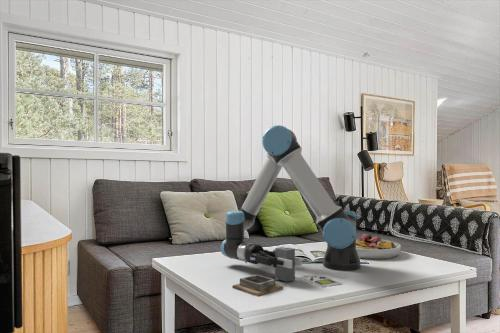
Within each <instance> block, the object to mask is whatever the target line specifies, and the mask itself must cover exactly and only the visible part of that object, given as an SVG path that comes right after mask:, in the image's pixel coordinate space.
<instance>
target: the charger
mask: <svg viewBox="0 0 500 333" xmlns="http://www.w3.org/2000/svg"><path fill="white" fill-rule="evenodd" d="M274 250H275V258H276V259H277V258H278V257H279V258H283V259H288V260H292V268H291V269H290V268H286V267H282V266H278V265H277V264H276V267H274V270H275V271H274V272H275V276H274V277H275V278H274V279H275V280H276V279H277V280H279V281H283V282H290V281H293V280H294V281H295V280H296V265H295V257H296V248H293V247H288V246H279V247H276V248H275V249H274Z"/></svg>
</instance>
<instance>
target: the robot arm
mask: <svg viewBox="0 0 500 333" xmlns="http://www.w3.org/2000/svg"><path fill="white" fill-rule="evenodd" d="M261 141H262V142H261V143H262V147H263V149H264V150H265V152H266V157H267V158H266V159H265V161H264V164H263V165H262V167H261V169H260V171H259V173H258V175H257V177H256V179H255V181H254V183H253V185H252V187H251V188H250V190H249V192H248V194H247V197H246V198H245V200H244V202H243V203H242V206H241V208H240V209H239V210H231V211H230V210H229V211H227V212H226V215H225V239H224V240H223V241H222V242H221V245H220V252H221V254H222V255H223V257H226V258H229V259H233V260H239V261H242V262H244V263H245V264H248V263H249V264H253V265H258V264H261V265H265V266H269V267H270V266H272V265H273V268H275V267H276V264H277V265H278V266H282V267H286V268H290V269H291V268H292V260H288V259H283V258H279V257H278V258H277V259H276V258H275V249H273V250H267V249H264V248H263V246H262V245H261V244H257V243H253V242H247V241H245V231H247V230H248V229H251V228H252V227H253V225H254V224H255V219H256V217H257V215H258V213H259V212H260V209H261V208H262V206H263V204H264V202H265V199H266V198H267V197H268V194H269V192H270V191H271V189H272V188H273V185H274V183H275V182H276V180H277V178H278V175H279V174H280V172H281V170H282V169H284V170H285V171H286V173H287V174H288V176H289V178H290V179H291V181H292V182H293V184H294V185H295V187H296V188H297V190H298V191H299V193H300V194H301V196H302V197H303V198H304V199H303V200H305V202H306V203H307V205H308V207H309V208H310V209H311V211H312V212H313V214H314V215H315V217H316V221H315V224H316V226H317V227H318V228H319V230H320V231H321V233H322V237H323V240H324V241H325V243H326V244H327V245H326V246H327V247H326V250H325V253H324V256H323V259H322V265H323V267H325V268H327V269H330V270H334V271H335V270H337V271H354V270H355V271H356V270H358V269H361V260H360V259H361V258H359V256H358V253H357V250H356V238H357V218H358V217H357V213H356V212H355V211H353V210H344V209H343V207H342V206H340V205H336V204H335V202H334V201H333V200H332V197H331V196H330V194H328V192H327V190H326V189H325V188H324V186H323V184H322V183H321V182H320V180H319V178H318V177H317V176H316V174H315V173H314V172H313V170H312V169H311V167H310V166H309V163H308V162H307V161H306V159H305V158H304V156H303V155H302V150H303V149H302V146H301V145H300V144H299V142H298V140H297V136H296V134H295V133H294V132H293V131H292V130H291V129H289V128H287V127H286V126H284V125H273V126H270V127H268V129H267V130H265V132H264V133H263V135H262V140H261ZM295 266H298V267H302V266H303V258H302V257H298V256H295Z"/></svg>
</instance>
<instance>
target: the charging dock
mask: <svg viewBox="0 0 500 333" xmlns="http://www.w3.org/2000/svg"><path fill="white" fill-rule="evenodd" d="M276 281H277V280H276V279H275V278H274V279H273V278H271V277H267V276H264V275H261V274H253V275H249V276H244V277H242V278H241V277H240V278H239V283H235V284H233V285H232V288H233V289H235V290H239V291H242V292H243V293H247V294H249V295H250V294H251V295H252V296H256V297H260V296H262V295H265V294H269V293H272V292H275V291H279V290H281V289H283V285H280V284H276V283H277V282H276Z"/></svg>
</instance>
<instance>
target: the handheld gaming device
mask: <svg viewBox="0 0 500 333" xmlns="http://www.w3.org/2000/svg"><path fill="white" fill-rule="evenodd" d="M299 278H300V279H302V280H304V281H307V282H309V283H311V284H313V283H314V285H316V286H318V287H320V286H321V288H328V287H327V286H329V287H333V286H334V285H335V286H340V284H341V285H342V283H341V282H340V281H337V280H335V279H332V278H329V277H326V276H324V275H322V274H319V273H313V274H312V273H311V274H305V275H300V276H299Z"/></svg>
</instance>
